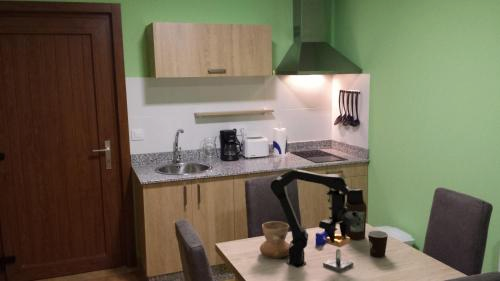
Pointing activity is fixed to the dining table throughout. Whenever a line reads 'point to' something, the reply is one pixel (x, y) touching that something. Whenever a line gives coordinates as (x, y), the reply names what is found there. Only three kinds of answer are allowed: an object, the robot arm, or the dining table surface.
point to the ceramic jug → (275, 239)
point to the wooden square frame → (339, 240)
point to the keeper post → (338, 263)
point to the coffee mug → (377, 243)
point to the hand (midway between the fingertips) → (338, 240)
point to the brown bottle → (359, 228)
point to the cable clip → (321, 238)
